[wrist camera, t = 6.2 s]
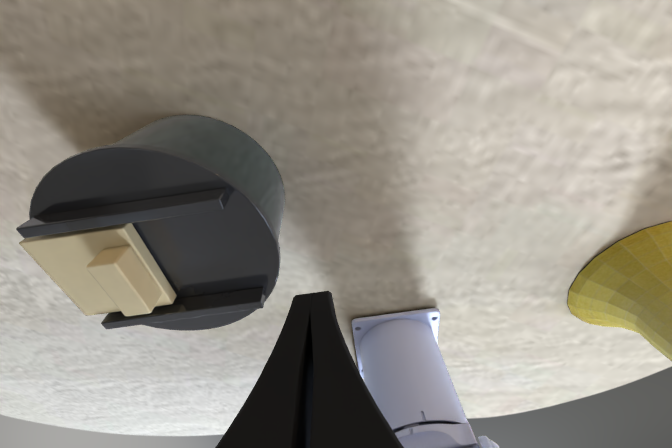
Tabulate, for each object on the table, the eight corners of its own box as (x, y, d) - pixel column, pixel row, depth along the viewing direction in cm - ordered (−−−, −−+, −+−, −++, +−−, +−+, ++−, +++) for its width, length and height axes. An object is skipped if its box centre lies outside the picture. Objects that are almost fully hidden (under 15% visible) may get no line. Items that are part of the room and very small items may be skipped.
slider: (130, 219, 12) (104, 246, 11) (177, 295, 15) (161, 325, 13) (29, 234, 12) (-11, 262, 11) (93, 306, 15) (68, 337, 13)
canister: (266, 95, 16) (234, 135, 10) (303, 246, 22) (298, 332, 16) (78, 124, 16) (-70, 181, 10) (165, 265, 22) (105, 358, 16)
